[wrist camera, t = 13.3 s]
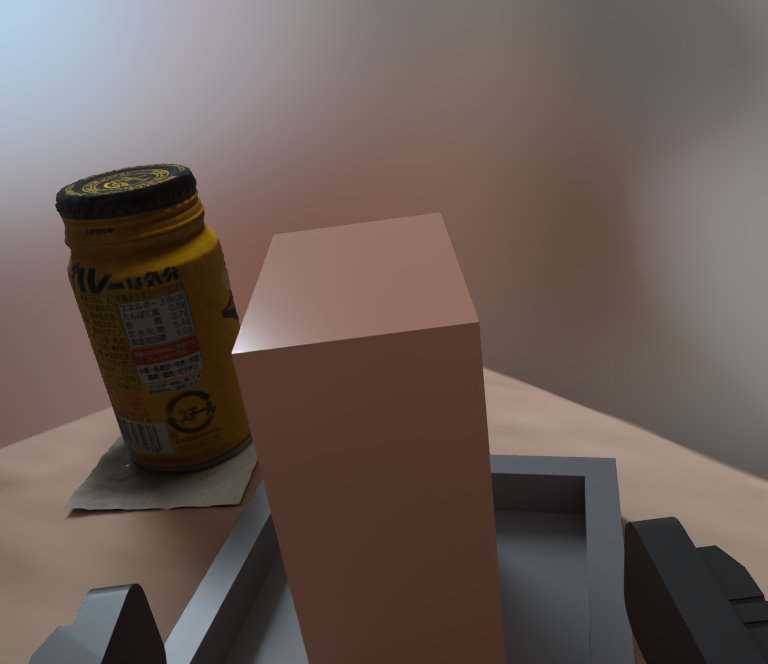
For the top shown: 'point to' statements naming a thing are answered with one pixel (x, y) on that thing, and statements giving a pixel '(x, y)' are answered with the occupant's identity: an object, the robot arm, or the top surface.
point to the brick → (375, 443)
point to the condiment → (158, 340)
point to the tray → (515, 560)
